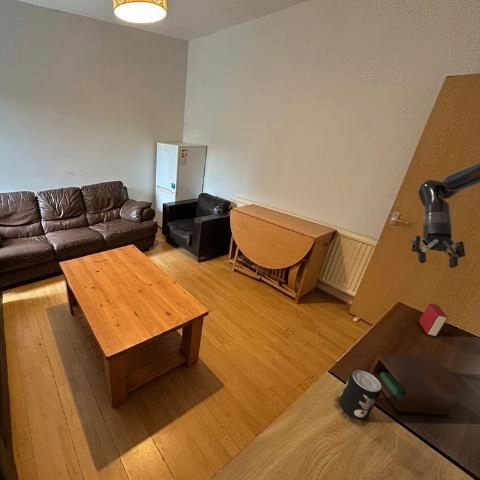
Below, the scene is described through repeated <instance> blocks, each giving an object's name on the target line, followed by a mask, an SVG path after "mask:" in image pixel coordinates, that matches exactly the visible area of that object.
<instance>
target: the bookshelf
mask: <svg viewBox="0 0 480 480" xmlns="http://www.w3.org/2000/svg"><path fill="white" fill-rule="evenodd" d="M368 373H370V374H371V375H373V376H374V377H375V378H376V379H377V380H378V381H379V382H380V384H381V391H382V392H383V394H384V395H385V396H386V397H387V398H388V400H389V401H390V402H391V404H392V405H393V407H394V408H395V409H396V410H397V412H398V413H412V414H427V415H428V414H429V415H443V416H444V415H445V416H446V415H447V414H448V413H449V412H450V411H451V409H452V408H453V406H455V404H456V403H457V402H458V400H459V399H460V397H462V395H463V394H464V392H465V391H466V390H467V386H466V385H464V384H463V383H462V382H461V381H460V380H459V379H458V378H457V377H456V376H455V375H453V374H452V372H450V371H449V369H448V368H446V367H445V366H444V365H443V364H442V363H440V361H438V359H437V358H436V357H434V356H433V355H432V354H431V353H430V352H429V351H428V350H427V349H426V348H421V349H420V350H419V352H418V354H417V355H408V354H407V355H406V354H405V355H404V354H381V353H378V354H377V355H376V357H375V359H374V361H373V363H372V365H371V367H370V368H369V371H368Z"/></svg>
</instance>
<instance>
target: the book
mask: <svg viewBox="0 0 480 480" xmlns="http://www.w3.org/2000/svg"><path fill="white" fill-rule="evenodd" d="M448 319H449V317H448V316H447V314H446V313H445V312H444V310H442V308H441V307H440V306H439V304H434V303H430V302H429V303H428V304H427V306H426V308H425V309H424V311H423V313H422V315H421V316H420V318H419V320H418V323H419V325H420V326H421V328H422V329H423V331H424V332H425V334H426V335H429V336H433V337H437V336H438V335H439V333H440V331H441V330H442V328H443V326H444V325H445V323H446V322H447V320H448Z"/></svg>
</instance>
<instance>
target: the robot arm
mask: <svg viewBox="0 0 480 480" xmlns="http://www.w3.org/2000/svg"><path fill="white" fill-rule="evenodd" d="M479 184H480V161H479V162H475V163H473V164H471V165H468V166H466V167H464V168H463V167H462V168H461V169H459V170H457V171H454V172H452V173H450V174H448V175H446V176H445V177H444V178H443V180H436V179H426V180H424V181H423V182H421V184H420V185H419V186H418V189H417V193H418V198H419V200H420V202H421V205H422V206H423V220H422V232H423V233H422V237H421V236H420V235H416V236H415V237H413V238H412V242H411V243H412V244H411V252H414V253H416V254H418V255H417V256H418V258H417V260H418V262H419V263H420V264H425V263H426V262H427V253H426V252H428V250H430V251H437V252H442V253H444V255H446V256H448V258H449V259H448V263H449V264H448V266H449V268H450V269H454V268H457V267H458V266H459V259H461V258H463V257H466V250H465V244H464V241H462V240H460V241H453V239H452V237H453V232H452V218H451V207H450V203H449V202H448V201H446V200H448V199H451V198H452V197H454V196H456V195H457V194H458V193H460V192H461V191H463V190H465V189H468V188H471V187H473V186H476V185H479ZM421 242H422V243H423V244H424V246H423V247H420V246H421Z"/></svg>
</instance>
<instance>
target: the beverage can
mask: <svg viewBox="0 0 480 480" xmlns="http://www.w3.org/2000/svg"><path fill="white" fill-rule="evenodd" d="M381 394H382V389H381V384H380V382H379V381H378V380H377V379H376V378H375V377H374V376H373V375H371V374H370V373H369V372H368V371H364V370H361V369H360V370H359V369H358V370H355V371H354V372H352V373H351V374H349V377H348V379H347V381H346V383H345V385H344V387H343V388H342V392H341V393H340V396H339V398H338V405H339V406H340V408H341V410H342V411H343V412H344V414H346V415H347V416H348V417H350V418H351V419H354V420H357V421H364V420H365V421H366V420H367V419H368V417H369V416H370V414H371V412H372V410H373V409H374V407H375V405H376V403H377V401H378V400H379V398H380V396H381Z"/></svg>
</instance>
